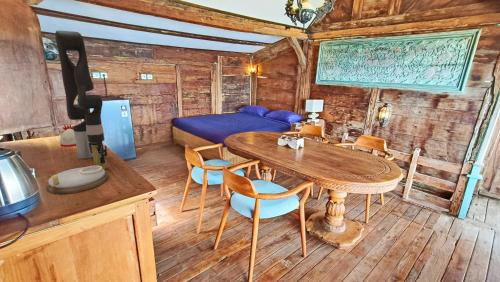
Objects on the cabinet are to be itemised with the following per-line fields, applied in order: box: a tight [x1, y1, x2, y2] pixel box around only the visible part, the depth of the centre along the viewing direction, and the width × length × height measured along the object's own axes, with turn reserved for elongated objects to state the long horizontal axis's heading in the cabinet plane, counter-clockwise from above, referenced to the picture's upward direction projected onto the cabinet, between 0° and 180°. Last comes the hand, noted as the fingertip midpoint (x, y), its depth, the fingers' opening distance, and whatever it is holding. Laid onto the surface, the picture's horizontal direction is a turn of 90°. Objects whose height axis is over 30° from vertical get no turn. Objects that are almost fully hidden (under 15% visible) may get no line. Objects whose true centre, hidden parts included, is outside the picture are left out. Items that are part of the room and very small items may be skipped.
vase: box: [91, 144, 108, 170], centre depth 129 cm, size 6×6×14 cm
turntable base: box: [45, 170, 109, 195], centre depth 113 cm, size 24×24×3 cm
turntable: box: [47, 165, 106, 189], centre depth 112 cm, size 22×22×6 cm
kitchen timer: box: [59, 124, 77, 148], centre depth 172 cm, size 14×14×15 cm
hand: (100, 162), depth 129 cm, fingers closed on vase, 5 cm apart
